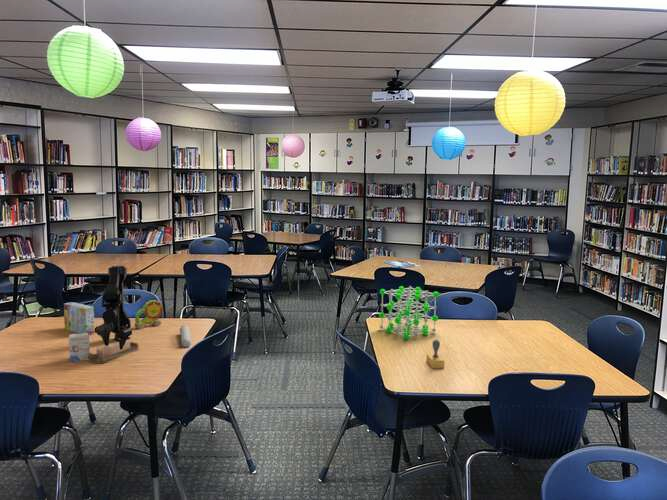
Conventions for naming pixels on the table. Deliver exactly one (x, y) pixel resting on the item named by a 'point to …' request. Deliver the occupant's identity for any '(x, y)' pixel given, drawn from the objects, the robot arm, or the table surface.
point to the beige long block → (112, 349)
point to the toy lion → (149, 314)
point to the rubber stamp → (435, 356)
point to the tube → (185, 336)
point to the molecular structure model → (408, 311)
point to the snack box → (79, 318)
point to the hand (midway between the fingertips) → (114, 348)
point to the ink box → (79, 346)
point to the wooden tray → (105, 359)
